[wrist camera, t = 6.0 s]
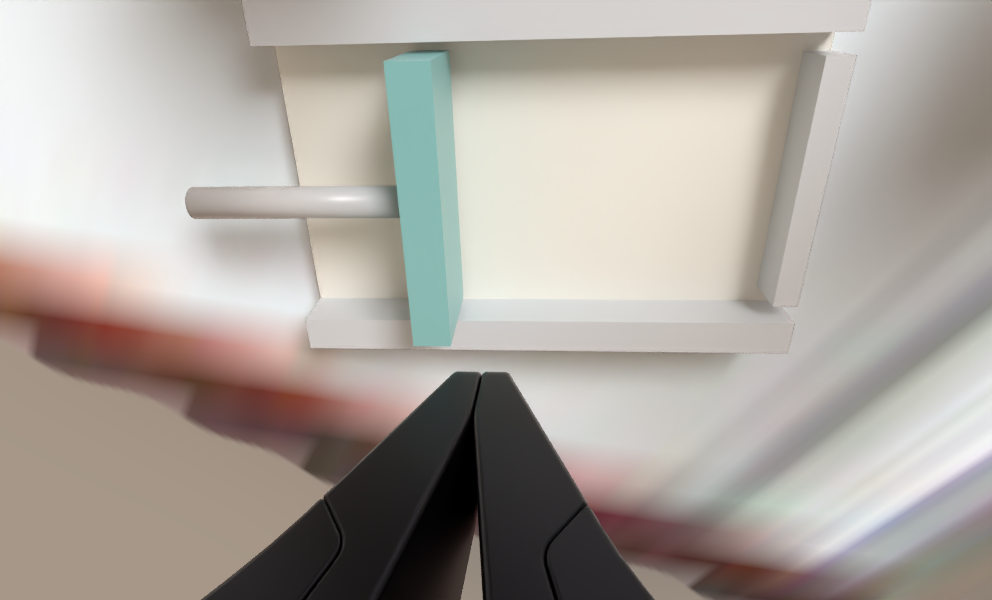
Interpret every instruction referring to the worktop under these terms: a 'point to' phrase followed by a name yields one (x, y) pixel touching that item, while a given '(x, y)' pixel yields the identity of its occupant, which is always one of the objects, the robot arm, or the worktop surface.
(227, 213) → the pusher
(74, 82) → the worktop surface
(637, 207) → the lane
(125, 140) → the worktop surface
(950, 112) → the worktop surface
